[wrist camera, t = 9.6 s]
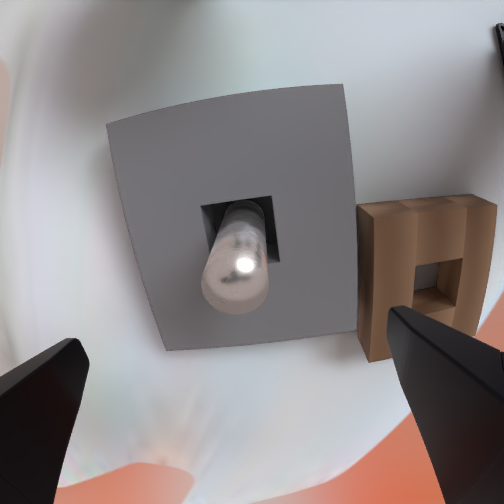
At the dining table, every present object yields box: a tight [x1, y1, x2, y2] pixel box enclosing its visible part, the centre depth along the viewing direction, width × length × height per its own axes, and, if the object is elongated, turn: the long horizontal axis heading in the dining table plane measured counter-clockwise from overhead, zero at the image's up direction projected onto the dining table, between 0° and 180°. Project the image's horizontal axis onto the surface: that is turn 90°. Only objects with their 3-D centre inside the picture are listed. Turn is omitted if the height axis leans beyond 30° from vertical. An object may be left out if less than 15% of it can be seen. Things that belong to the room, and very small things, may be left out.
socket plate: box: [106, 84, 357, 351], centre depth 18 cm, size 12×14×3 cm
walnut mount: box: [358, 194, 497, 363], centre depth 19 cm, size 9×10×3 cm
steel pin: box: [201, 200, 269, 315], centre depth 15 cm, size 2×2×8 cm
